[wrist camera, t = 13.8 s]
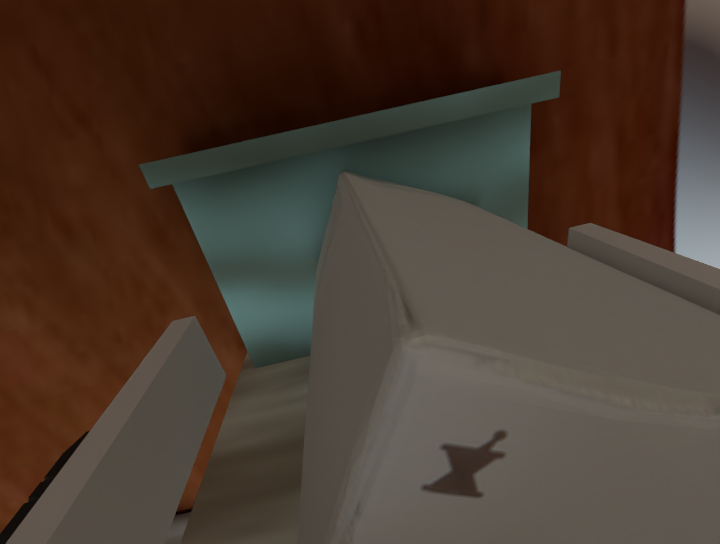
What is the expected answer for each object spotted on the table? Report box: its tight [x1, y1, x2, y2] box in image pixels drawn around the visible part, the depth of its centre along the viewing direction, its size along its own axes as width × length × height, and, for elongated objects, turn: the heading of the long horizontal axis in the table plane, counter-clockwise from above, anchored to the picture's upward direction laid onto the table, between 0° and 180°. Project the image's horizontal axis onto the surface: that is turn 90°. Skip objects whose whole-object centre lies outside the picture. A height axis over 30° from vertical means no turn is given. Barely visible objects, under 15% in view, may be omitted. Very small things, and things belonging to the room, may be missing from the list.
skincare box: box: [297, 170, 720, 544], centre depth 10 cm, size 8×6×15 cm
